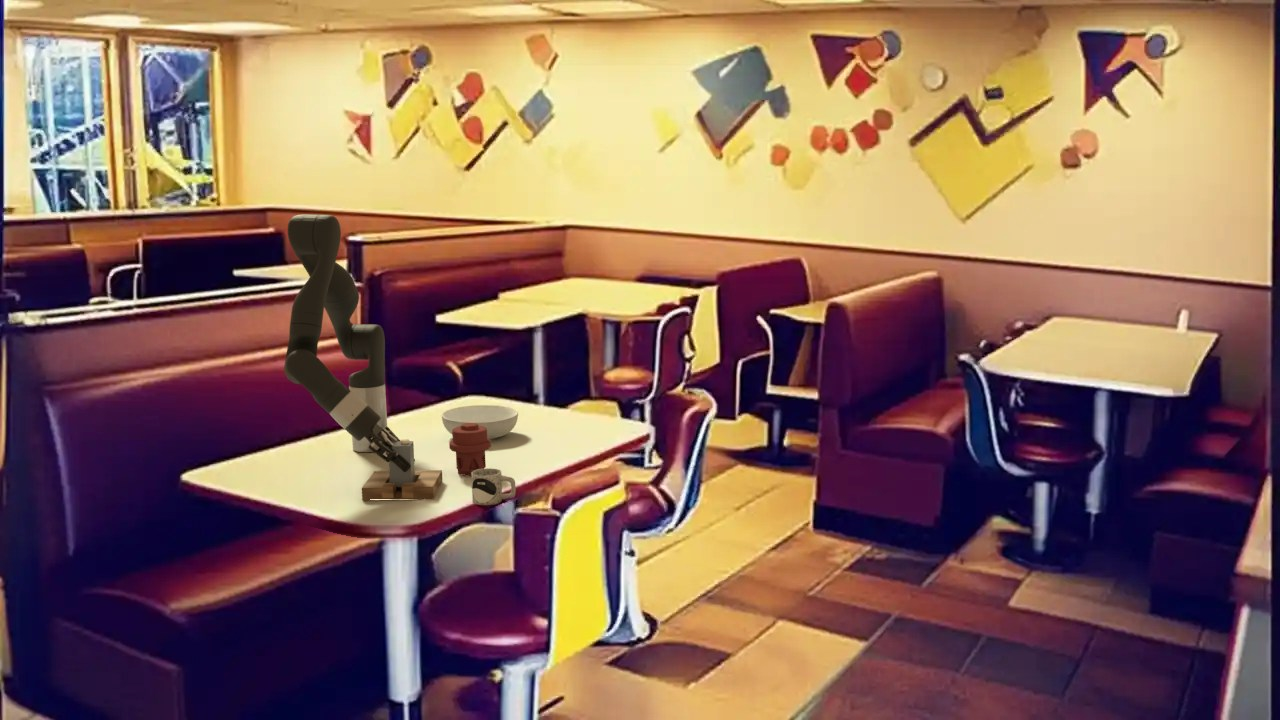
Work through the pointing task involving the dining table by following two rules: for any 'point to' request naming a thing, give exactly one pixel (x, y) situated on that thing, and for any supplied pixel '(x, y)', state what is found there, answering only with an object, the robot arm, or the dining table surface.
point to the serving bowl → (482, 418)
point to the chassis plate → (420, 489)
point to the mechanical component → (469, 447)
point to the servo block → (407, 452)
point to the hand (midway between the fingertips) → (410, 466)
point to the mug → (490, 486)
